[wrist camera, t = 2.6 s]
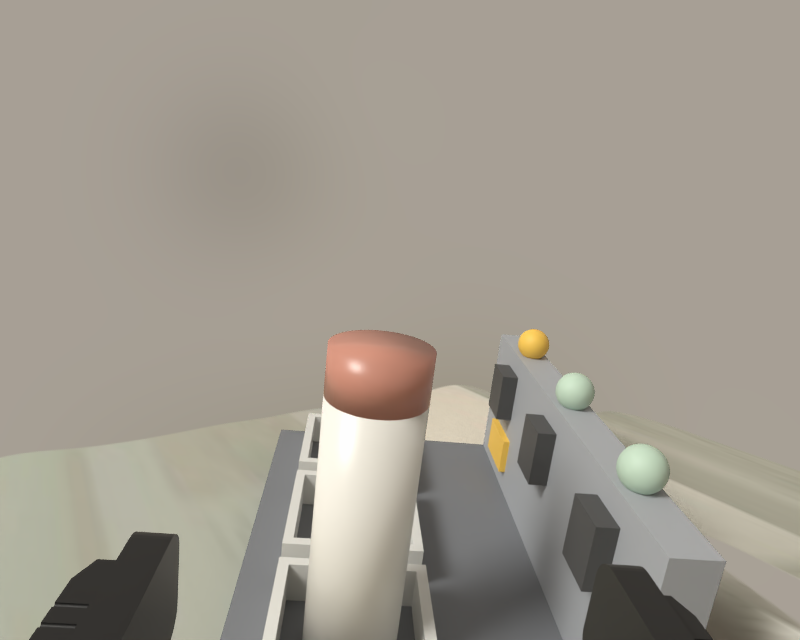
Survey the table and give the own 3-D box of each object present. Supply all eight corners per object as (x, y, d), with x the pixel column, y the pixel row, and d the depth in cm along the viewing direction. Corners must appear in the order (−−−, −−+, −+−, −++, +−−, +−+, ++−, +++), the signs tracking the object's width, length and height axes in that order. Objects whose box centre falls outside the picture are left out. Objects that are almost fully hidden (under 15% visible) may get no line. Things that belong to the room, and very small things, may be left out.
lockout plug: (349, 605, 28) (380, 324, 25) (412, 656, 26) (458, 353, 22) (281, 651, 25) (305, 339, 22) (346, 714, 23) (385, 374, 19)
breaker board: (280, 444, 45) (290, 290, 42) (512, 460, 47) (538, 313, 44) (186, 777, 21) (193, 478, 18) (669, 789, 23) (755, 515, 20)
